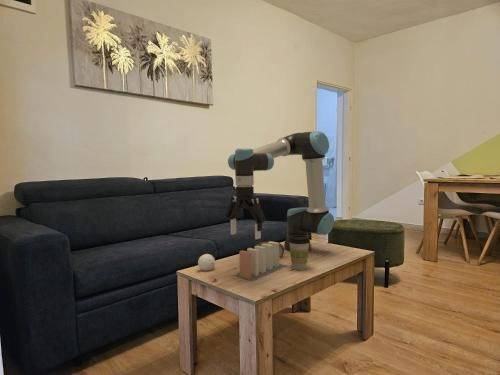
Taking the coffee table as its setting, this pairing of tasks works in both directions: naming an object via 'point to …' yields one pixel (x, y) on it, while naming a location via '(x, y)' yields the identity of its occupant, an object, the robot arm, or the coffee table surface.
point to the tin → (281, 248)
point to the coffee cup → (299, 251)
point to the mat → (262, 273)
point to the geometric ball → (206, 262)
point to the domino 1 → (245, 264)
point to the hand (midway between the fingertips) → (245, 236)
